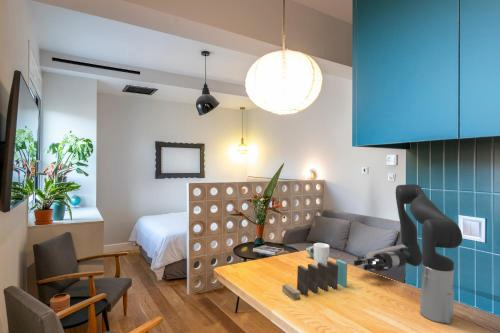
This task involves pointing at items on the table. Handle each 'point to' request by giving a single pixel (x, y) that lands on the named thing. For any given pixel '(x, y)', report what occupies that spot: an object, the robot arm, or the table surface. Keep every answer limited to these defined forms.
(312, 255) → the robot head
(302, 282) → the domino
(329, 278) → the domino
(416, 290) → the table surface
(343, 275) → the domino
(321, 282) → the domino
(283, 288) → the end stop
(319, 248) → the white cup
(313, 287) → the domino
